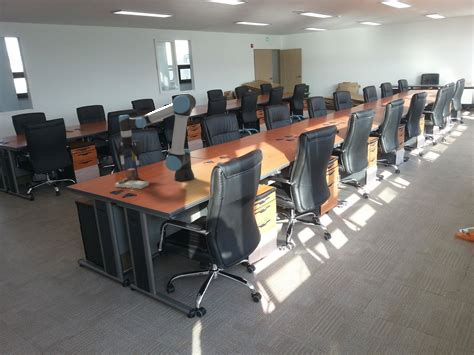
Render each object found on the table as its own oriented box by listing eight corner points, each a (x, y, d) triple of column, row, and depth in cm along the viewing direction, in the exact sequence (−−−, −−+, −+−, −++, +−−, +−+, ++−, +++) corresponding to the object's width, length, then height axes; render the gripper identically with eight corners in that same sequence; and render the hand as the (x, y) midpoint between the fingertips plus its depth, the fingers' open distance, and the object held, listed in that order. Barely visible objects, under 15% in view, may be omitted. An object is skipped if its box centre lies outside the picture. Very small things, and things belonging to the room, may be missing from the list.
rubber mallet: (137, 175, 319) (133, 138, 311) (145, 176, 316) (141, 139, 308) (127, 179, 308) (122, 141, 300) (134, 180, 305) (130, 142, 297)
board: (124, 183, 300) (123, 179, 299) (148, 185, 291) (148, 181, 291) (115, 186, 291) (115, 183, 290) (140, 188, 282) (140, 185, 282)
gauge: (131, 181, 305) (130, 168, 302) (137, 181, 303) (135, 168, 300) (117, 187, 289) (115, 173, 287) (123, 187, 288) (121, 174, 285)
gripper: (109, 137, 293) (113, 165, 299) (137, 137, 284) (141, 166, 289) (116, 135, 300) (120, 162, 305) (143, 135, 290) (147, 163, 296)
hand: (130, 164), depth 297 cm, fingers open, 13 cm apart
